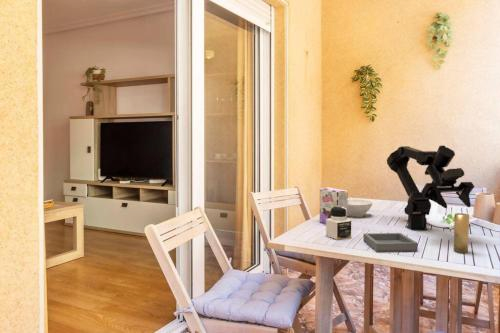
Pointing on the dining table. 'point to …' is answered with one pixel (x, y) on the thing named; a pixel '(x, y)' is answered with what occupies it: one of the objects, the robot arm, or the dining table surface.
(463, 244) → the golden metal cylinder
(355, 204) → the bowl
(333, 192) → the candy box
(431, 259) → the dining table surface
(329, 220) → the medicine bottle
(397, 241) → the tray
